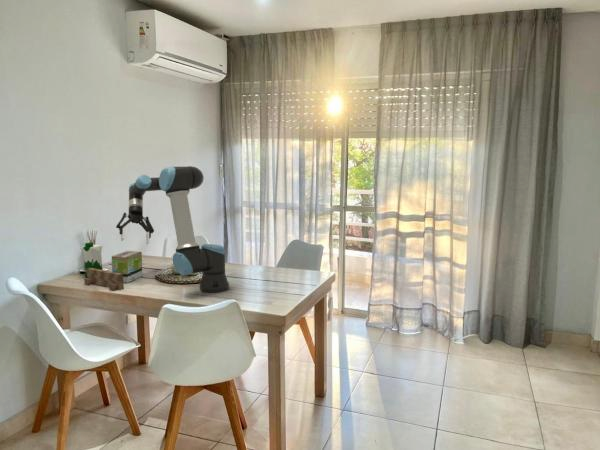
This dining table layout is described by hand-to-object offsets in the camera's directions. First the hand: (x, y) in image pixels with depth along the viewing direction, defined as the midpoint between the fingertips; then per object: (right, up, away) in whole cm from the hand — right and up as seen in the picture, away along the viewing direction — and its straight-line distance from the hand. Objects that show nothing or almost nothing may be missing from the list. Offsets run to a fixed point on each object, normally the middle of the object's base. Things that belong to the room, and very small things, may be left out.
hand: (135, 241), depth 257 cm
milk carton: (-28, -21, +13) cm, 37 cm away
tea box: (-7, -22, +8) cm, 24 cm away
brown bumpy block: (-15, -24, -6) cm, 29 cm away
